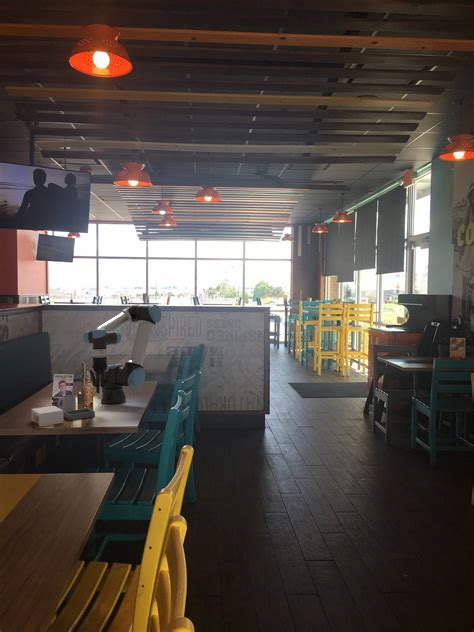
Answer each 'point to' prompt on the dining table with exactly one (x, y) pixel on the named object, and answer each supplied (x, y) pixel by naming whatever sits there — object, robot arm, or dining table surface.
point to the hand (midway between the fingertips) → (100, 398)
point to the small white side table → (47, 415)
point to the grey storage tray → (78, 414)
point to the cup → (67, 403)
